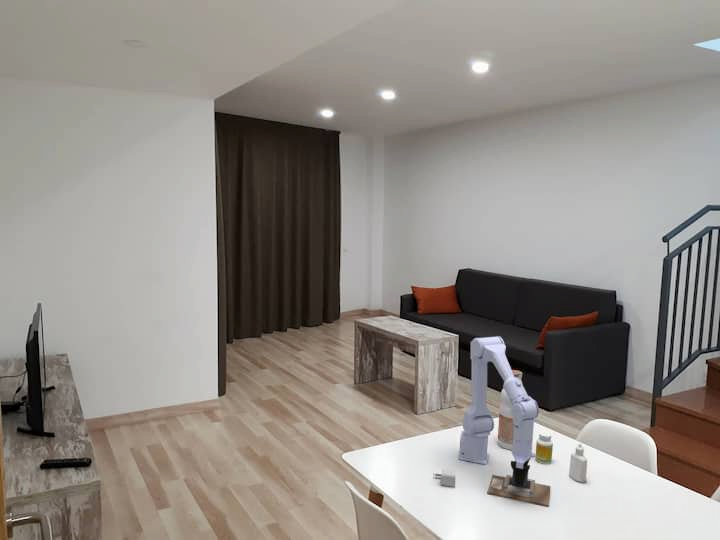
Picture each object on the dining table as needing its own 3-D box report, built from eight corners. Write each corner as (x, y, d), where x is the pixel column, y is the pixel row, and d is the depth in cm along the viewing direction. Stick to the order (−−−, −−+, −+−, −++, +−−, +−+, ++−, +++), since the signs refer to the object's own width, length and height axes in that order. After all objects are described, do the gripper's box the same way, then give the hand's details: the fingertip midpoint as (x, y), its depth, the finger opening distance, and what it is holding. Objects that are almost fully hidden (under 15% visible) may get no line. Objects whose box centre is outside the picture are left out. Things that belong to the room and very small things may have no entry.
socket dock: (487, 493, 169) (487, 486, 169) (492, 476, 180) (492, 468, 180) (548, 507, 163) (549, 498, 162) (550, 487, 174) (550, 480, 173)
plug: (511, 490, 170) (512, 471, 170) (512, 485, 174) (513, 467, 173) (526, 493, 169) (527, 474, 168) (527, 488, 172) (528, 469, 171)
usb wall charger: (454, 487, 172) (455, 475, 172) (432, 485, 173) (433, 473, 173) (455, 481, 176) (455, 469, 175) (433, 478, 177) (434, 467, 177)
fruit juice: (504, 451, 198) (509, 376, 195) (492, 440, 208) (497, 368, 204) (528, 449, 201) (533, 375, 197) (515, 438, 210) (520, 367, 206)
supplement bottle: (548, 465, 189) (550, 438, 187) (533, 460, 192) (534, 434, 191) (553, 460, 193) (555, 433, 192) (538, 455, 196) (540, 429, 195)
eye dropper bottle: (572, 482, 178) (575, 447, 176) (568, 474, 183) (571, 439, 182) (586, 483, 177) (589, 448, 176) (581, 475, 183) (584, 440, 181)
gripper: (535, 450, 161) (531, 494, 163) (537, 431, 175) (534, 472, 176) (510, 446, 164) (507, 489, 165) (514, 428, 177) (512, 468, 179)
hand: (519, 480), depth 171 cm, fingers open, 5 cm apart
